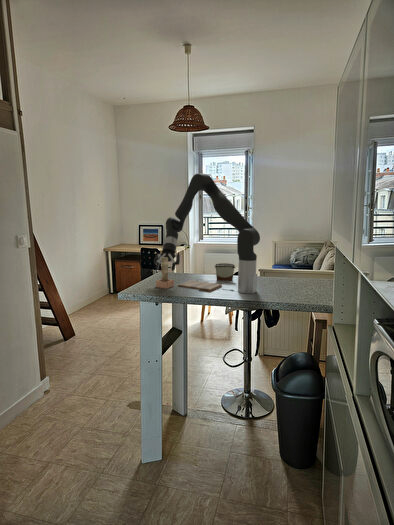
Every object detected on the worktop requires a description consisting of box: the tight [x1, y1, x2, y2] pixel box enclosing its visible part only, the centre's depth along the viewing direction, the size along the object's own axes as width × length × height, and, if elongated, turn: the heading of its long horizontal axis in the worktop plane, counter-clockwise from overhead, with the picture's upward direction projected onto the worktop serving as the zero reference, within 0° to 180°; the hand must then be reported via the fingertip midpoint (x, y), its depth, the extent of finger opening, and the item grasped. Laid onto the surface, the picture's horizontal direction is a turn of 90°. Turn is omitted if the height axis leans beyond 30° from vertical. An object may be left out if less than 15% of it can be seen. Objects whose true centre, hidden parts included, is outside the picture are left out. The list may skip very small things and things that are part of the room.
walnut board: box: [177, 279, 223, 293], centre depth 196 cm, size 20×14×2 cm
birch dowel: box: [161, 257, 169, 282], centre depth 193 cm, size 4×4×16 cm
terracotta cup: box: [155, 278, 175, 289], centre depth 194 cm, size 7×7×4 cm
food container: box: [214, 262, 236, 282], centre depth 214 cm, size 12×6×10 cm, turn 84°
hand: (164, 269), depth 193 cm, fingers open, 8 cm apart
